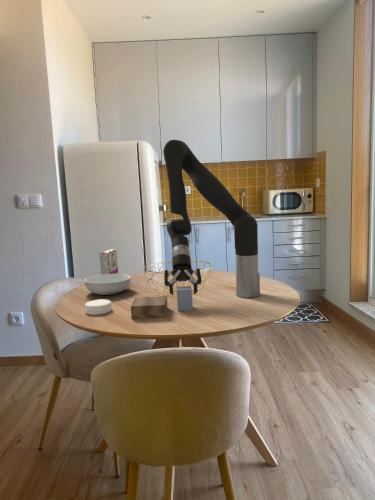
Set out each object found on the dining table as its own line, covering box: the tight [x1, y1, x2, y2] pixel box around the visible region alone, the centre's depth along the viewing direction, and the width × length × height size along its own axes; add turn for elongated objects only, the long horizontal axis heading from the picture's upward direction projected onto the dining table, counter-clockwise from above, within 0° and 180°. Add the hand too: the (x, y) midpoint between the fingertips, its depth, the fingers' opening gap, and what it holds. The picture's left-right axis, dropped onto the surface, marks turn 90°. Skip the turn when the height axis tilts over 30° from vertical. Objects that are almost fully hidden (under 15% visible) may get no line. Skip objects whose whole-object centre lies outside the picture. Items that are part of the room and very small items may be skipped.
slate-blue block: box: [176, 285, 194, 312], centre depth 146 cm, size 6×6×8 cm
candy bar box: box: [98, 248, 119, 275], centre depth 195 cm, size 11×5×16 cm, turn 168°
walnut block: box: [130, 295, 168, 320], centre depth 143 cm, size 12×12×5 cm
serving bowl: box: [83, 273, 132, 296], centre depth 176 cm, size 21×21×7 cm
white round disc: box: [84, 298, 113, 316], centre depth 149 cm, size 10×10×4 cm
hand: (183, 293), depth 146 cm, fingers open, 8 cm apart
